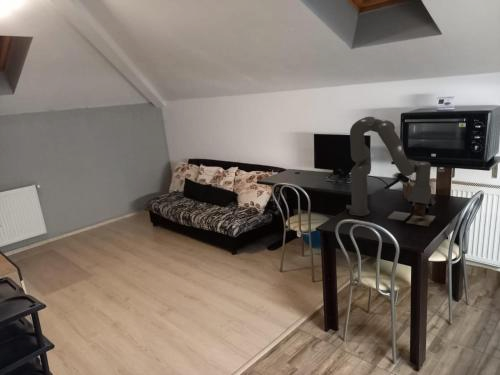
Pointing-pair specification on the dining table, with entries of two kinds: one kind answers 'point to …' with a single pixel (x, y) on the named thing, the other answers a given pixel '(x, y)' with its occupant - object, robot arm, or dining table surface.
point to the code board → (421, 220)
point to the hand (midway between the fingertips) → (420, 212)
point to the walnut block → (419, 209)
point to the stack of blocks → (407, 189)
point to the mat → (399, 215)
